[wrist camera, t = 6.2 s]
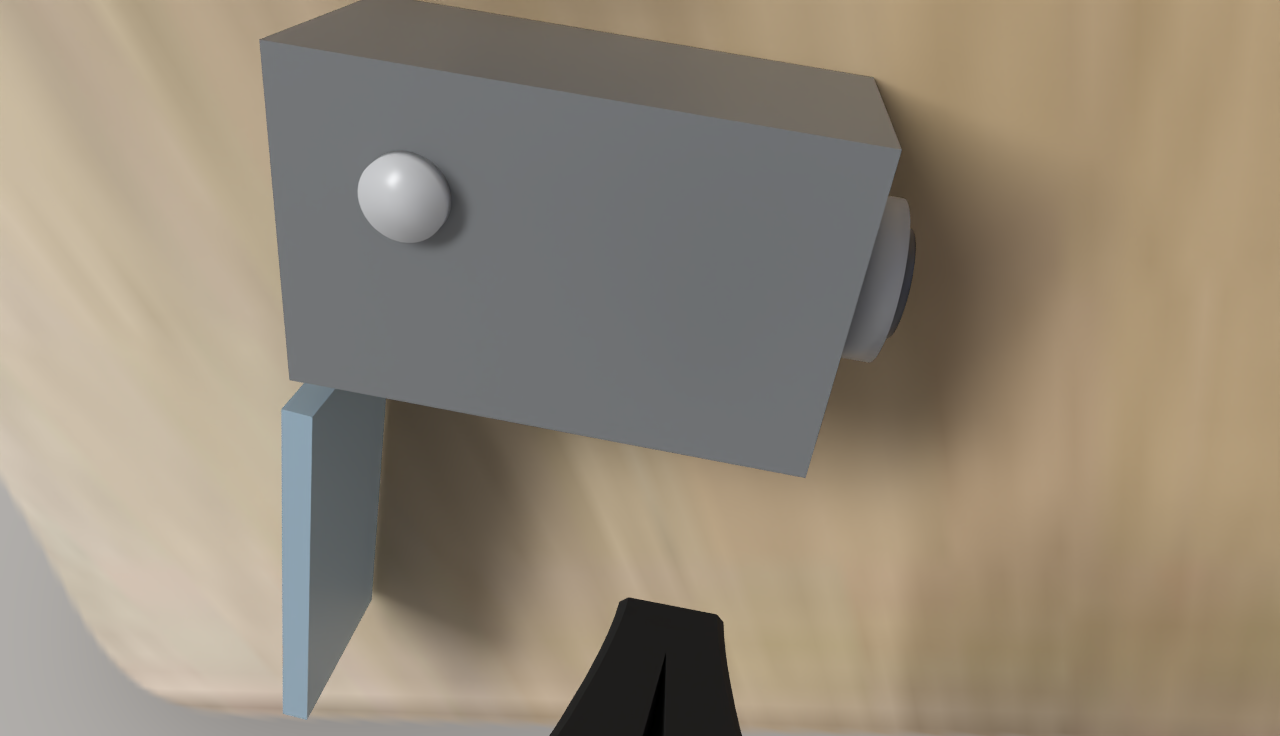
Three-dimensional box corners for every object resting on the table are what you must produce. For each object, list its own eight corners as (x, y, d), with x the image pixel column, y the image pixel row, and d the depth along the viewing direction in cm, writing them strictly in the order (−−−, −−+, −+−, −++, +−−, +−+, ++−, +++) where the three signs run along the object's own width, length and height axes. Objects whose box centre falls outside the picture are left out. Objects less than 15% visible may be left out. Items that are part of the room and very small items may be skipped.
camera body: (930, 87, 16) (979, 168, 12) (848, 362, 20) (865, 500, 15) (377, -6, 17) (249, 43, 13) (383, 276, 20) (281, 388, 16)
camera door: (371, 599, 25) (306, 719, 22) (330, 588, 25) (259, 707, 22) (391, 319, 20) (311, 416, 17) (339, 306, 20) (250, 400, 17)
